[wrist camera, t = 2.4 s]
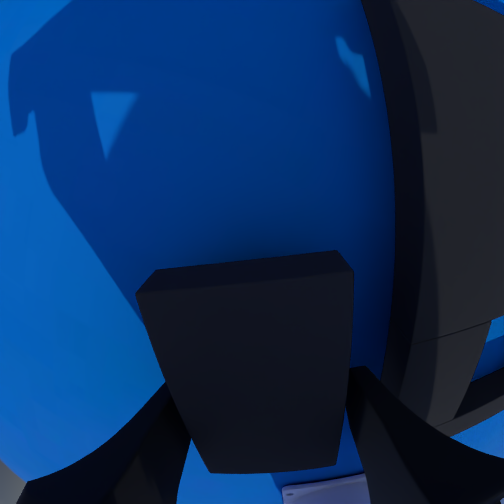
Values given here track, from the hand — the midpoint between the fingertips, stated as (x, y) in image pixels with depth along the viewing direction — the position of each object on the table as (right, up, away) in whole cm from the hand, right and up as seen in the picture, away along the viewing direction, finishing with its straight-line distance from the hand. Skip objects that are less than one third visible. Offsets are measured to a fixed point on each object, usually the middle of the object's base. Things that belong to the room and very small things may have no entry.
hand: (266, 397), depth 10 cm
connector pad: (0, +2, +1) cm, 2 cm away
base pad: (+11, +6, -1) cm, 13 cm away
